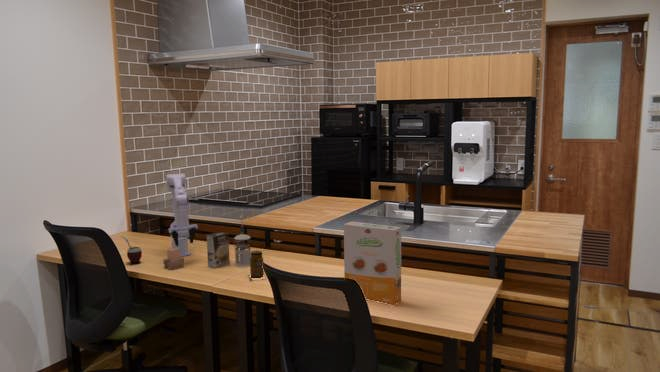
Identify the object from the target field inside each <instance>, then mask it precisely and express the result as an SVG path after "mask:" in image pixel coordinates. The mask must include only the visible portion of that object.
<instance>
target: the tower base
mask: <svg viewBox="0 0 660 372" xmlns="http://www.w3.org/2000/svg"><path fill="white" fill-rule="evenodd" d="M163 265H164V268H165V269H167V270H169V271H173V270H178V269H183V268H185V267H184V266H185V263H183V264H179V265H176V266H168V265H165V264H164V263H163Z"/></svg>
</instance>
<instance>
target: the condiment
mask: <svg viewBox="0 0 660 372" xmlns="http://www.w3.org/2000/svg"><path fill="white" fill-rule="evenodd" d="M250 254H251V256H250V257H251V258H250V266H249V267H250V274H248V278H249V276H250V275H251V278H261V277H263V275H265V271H263V268H264V267H263V268H262V263H263V264H264V257H263V251H261V250H253V251H252V250H251V253H250ZM251 278H249V281H252V279H251Z"/></svg>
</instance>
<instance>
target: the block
mask: <svg viewBox="0 0 660 372" xmlns="http://www.w3.org/2000/svg"><path fill="white" fill-rule="evenodd" d="M166 251H167V258H168V259H169V260H177V259H180V249H179V248H176V247H175V248H172V247H171V248H167V249H166Z"/></svg>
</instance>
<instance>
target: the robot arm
mask: <svg viewBox="0 0 660 372" xmlns="http://www.w3.org/2000/svg"><path fill="white" fill-rule="evenodd" d="M186 178H187V177H186V174H185V173H183V172H182V173H173V174H172V173H170V174H166V176H165V179H166V181H165V182H166V188H167V191H169V192H171V195H172V204H173V213H174V215H173V216H174V221H173V222H172V223H171V224H170V226H169V227H170V228H168V233H169V234H170V238H171V239H172V240H171V248H175V247H176V248H179V249H180V257H181V258H182V257H185V256H190V255H192V253H191V252H189V245H188V244H189V243H190V244H194V240H195V235H196V234H197V230H198V229H199V228H198V227H199V226H198V224H197V223H195V224H190V221H189V220H190V219H189V217H190V216H189V204H190V203H189V202H190V201H189V199H190V198H189V194H188V193H187V191H186V185H187V180H186ZM188 239H189V242H188Z"/></svg>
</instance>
